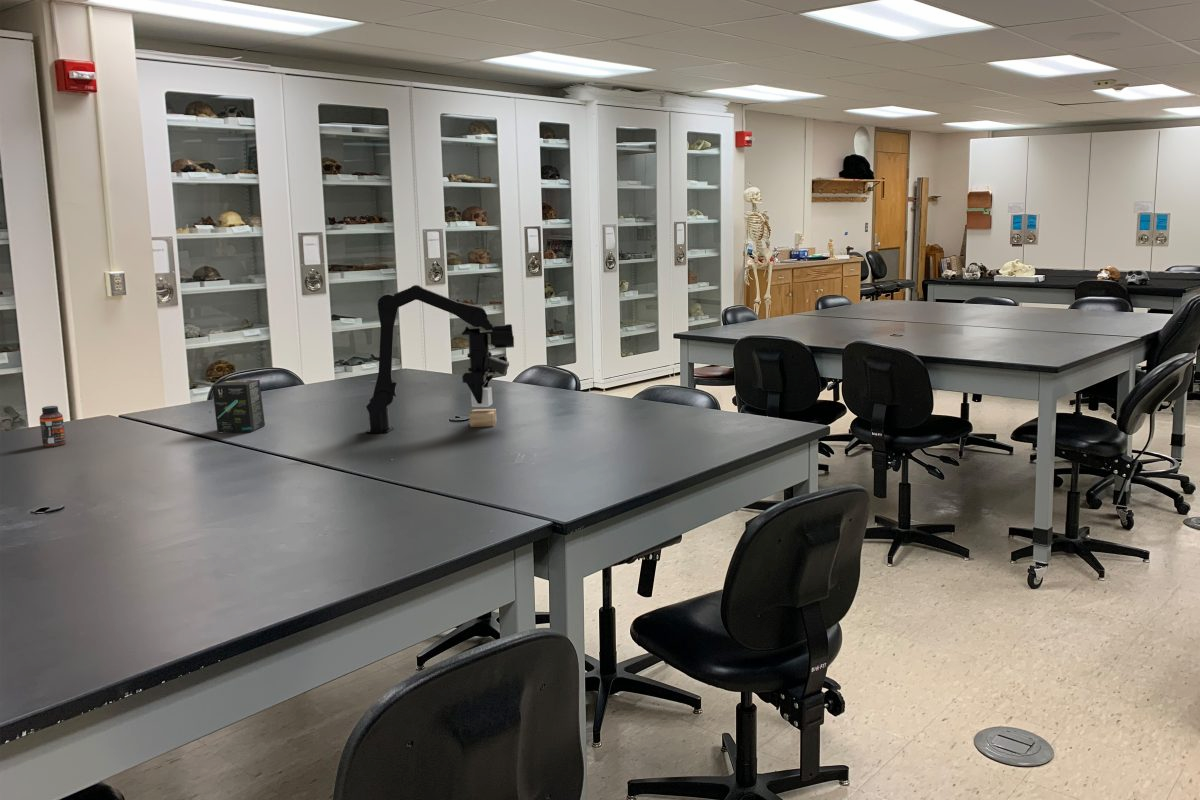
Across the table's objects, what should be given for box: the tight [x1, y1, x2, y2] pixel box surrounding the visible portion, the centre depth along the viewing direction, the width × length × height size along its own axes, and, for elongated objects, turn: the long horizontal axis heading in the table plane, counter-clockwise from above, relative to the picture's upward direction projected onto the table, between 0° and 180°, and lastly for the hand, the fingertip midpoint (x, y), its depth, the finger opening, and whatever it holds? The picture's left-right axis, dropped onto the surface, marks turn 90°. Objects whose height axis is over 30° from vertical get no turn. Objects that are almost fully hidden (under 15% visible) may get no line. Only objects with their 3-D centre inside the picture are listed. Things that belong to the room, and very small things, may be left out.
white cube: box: [470, 386, 493, 408], centre depth 285 cm, size 5×5×5 cm
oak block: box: [469, 408, 498, 428], centre depth 286 cm, size 7×7×4 cm
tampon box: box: [212, 379, 266, 433], centre depth 291 cm, size 11×9×15 cm
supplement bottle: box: [39, 405, 67, 448], centre depth 280 cm, size 6×6×11 cm
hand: (481, 401), depth 285 cm, fingers closed on white cube, 5 cm apart
